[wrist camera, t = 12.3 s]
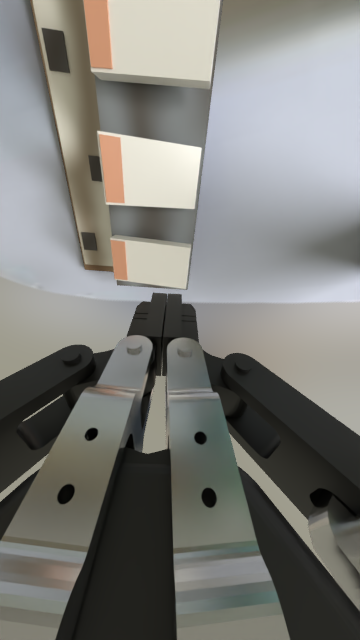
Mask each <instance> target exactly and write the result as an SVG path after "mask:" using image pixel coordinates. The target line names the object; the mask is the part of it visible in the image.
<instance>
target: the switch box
mask: <svg viewBox="0 0 360 640" xmlns="http://www.w3.org/2000/svg"><path fill="white" fill-rule="evenodd" d="M30 1H31V6H32V11H33V16H34V21H35V26H36V31H37V36H38V41H39V46H40V51H41V56H42V61H43V65H44V70H45V75H46V80H47V85H48V90H49V95H50V100H51V105H52V110H53V115H54V120H55V125H56V129H57V134H58V139H59V144H60V149H61V154H62V159H63V164H64V169H65V174H66V179H67V184H68V189H69V193H70V198H71V203H72V208H73V213H74V218H75V223H76V228H77V233H78V238H79V243H80V248H81V253H82V258H83V262H84V267H85V270H97V271H111V272H114V269H113V261H112V252H111V243H110V238H111V237H112V236H114V235H122V236H130V237H138V238H146V239H155V240H163V241H171V242H179V243H187V244H191V251H190V260H189V268H188V277H187V284H186V289H183V290H187V289H188V281H189V272H190V264H191V256H192V248H193V240H194V232H195V224H196V216H197V208H198V199H199V191H200V183H201V175H202V167H203V159H204V151H205V143H206V135H207V127H208V118H209V110H210V102H211V94H212V86H213V78H214V70H215V62H216V54H217V45H218V37H219V29H220V21H221V13H222V5H223V0H220V8H219V17H218V25H217V34H216V42H215V50H214V59H213V67H212V76H211V84H210V89H202V88H190V87H178V86H166V85H154V84H143V83H131V82H119V81H107V80H100V79H99V78H98V77H97V76H96V75H95V74H94V73H92V72H91V65H90V56H89V48H88V39H87V30H86V21H85V12H84V4H83V0H30ZM97 131H103V132H109V133H115V134H121V135H127V136H133V137H139V138H145V139H151V140H158V141H164V142H170V143H176V144H182V145H188V146H194V147H200V148H202V150H201V159H200V167H199V176H198V184H197V193H196V202H195V209H183V208H164V207H145V206H126V205H107V204H105V199H104V191H103V182H102V174H101V165H100V157H99V148H98V139H97ZM117 285H124V286H139V287H154V288H168V289H181V288H174V287H166V286H159V285H151V284H144V283H136V282H129V281H121V280H117Z"/></svg>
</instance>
